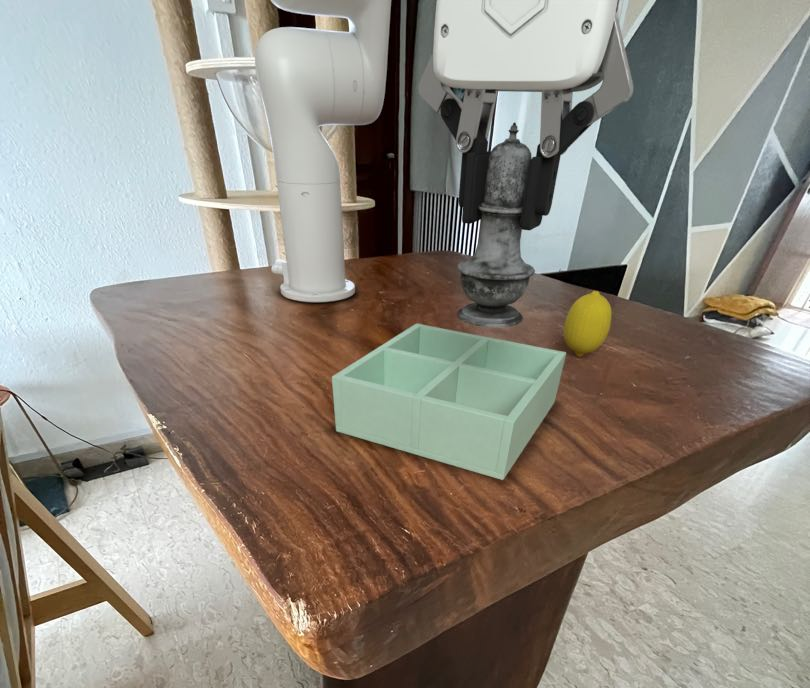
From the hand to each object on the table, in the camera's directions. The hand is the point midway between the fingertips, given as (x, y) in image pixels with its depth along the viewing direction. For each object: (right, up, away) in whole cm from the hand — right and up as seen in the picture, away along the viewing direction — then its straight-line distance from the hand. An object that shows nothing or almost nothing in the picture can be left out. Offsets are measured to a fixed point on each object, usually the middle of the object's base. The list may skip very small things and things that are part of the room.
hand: (502, 220), depth 35 cm
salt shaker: (0, -5, +4) cm, 7 cm away
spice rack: (-2, -10, +16) cm, 19 cm away
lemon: (+16, +1, +30) cm, 34 cm away
